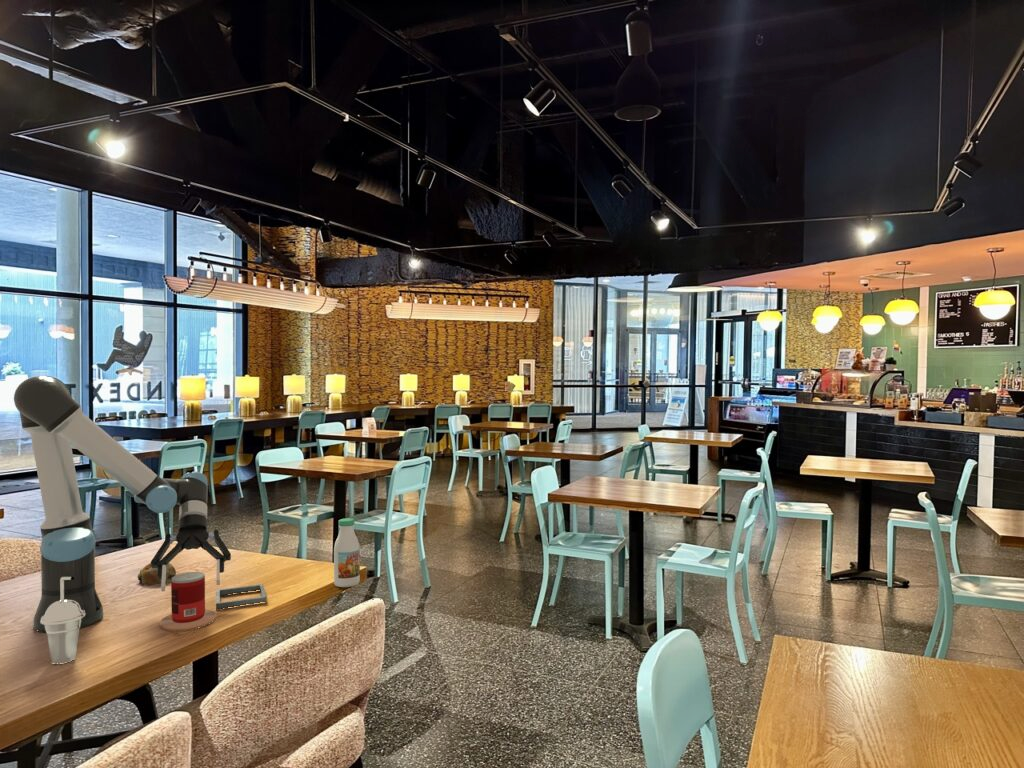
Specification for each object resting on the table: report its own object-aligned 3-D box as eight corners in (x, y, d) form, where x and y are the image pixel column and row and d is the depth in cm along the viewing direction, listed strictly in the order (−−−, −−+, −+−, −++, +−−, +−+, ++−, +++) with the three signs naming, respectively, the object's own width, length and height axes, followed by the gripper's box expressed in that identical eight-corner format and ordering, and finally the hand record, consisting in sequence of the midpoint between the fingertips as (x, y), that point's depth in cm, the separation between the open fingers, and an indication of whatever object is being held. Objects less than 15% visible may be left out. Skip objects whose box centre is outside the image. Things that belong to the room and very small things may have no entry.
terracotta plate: (180, 635, 164) (180, 631, 164) (149, 624, 171) (149, 621, 171) (226, 618, 175) (226, 614, 175) (196, 609, 182) (196, 606, 182)
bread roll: (158, 597, 203) (169, 574, 203) (128, 583, 203) (139, 559, 203) (175, 587, 213) (185, 564, 212) (146, 573, 213) (156, 551, 213)
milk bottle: (329, 586, 201) (329, 521, 201) (341, 579, 209) (341, 516, 208) (352, 588, 199) (352, 522, 199) (364, 581, 207) (363, 517, 207)
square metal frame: (266, 603, 187) (266, 597, 187) (215, 610, 181) (215, 603, 181) (263, 589, 198) (263, 583, 198) (215, 595, 193) (215, 589, 193)
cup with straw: (87, 650, 155) (86, 565, 155) (83, 665, 147) (83, 575, 147) (43, 657, 151) (42, 570, 151) (37, 673, 143) (36, 581, 143)
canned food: (211, 613, 176) (211, 572, 175) (189, 624, 168) (189, 581, 168) (187, 611, 178) (187, 570, 178) (164, 621, 170) (164, 579, 170)
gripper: (238, 523, 202) (240, 586, 188) (146, 530, 192) (140, 598, 179) (239, 509, 197) (240, 573, 183) (143, 516, 187) (137, 584, 174)
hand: (190, 585), depth 181 cm, fingers open, 13 cm apart
